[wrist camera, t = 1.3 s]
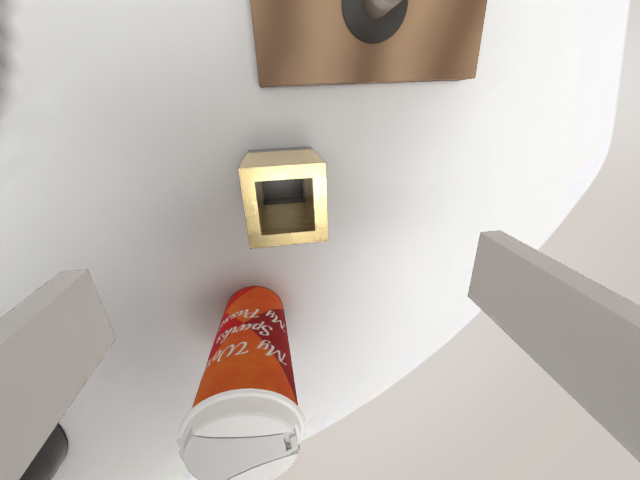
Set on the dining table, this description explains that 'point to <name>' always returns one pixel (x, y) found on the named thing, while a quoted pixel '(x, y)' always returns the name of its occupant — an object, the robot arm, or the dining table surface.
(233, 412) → the paper cup
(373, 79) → the pin board
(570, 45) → the dining table surface
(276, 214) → the sleeve
